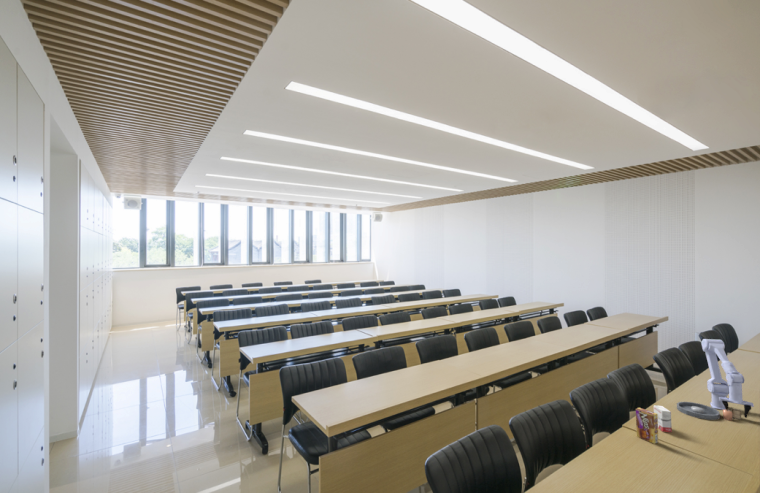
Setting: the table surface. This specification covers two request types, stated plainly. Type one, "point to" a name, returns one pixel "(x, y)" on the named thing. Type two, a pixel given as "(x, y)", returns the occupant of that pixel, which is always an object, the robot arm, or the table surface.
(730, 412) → the terracotta bead
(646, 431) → the candy box
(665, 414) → the ink box
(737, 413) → the birch bead
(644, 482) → the table surface
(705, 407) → the groove tray
